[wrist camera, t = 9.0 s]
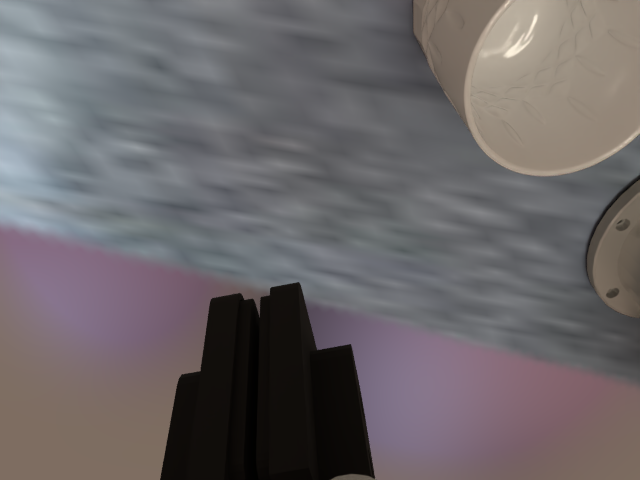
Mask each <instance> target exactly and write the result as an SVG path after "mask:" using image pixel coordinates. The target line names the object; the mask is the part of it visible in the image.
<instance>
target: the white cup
mask: <svg viewBox="0 0 640 480" xmlns="http://www.w3.org/2000/svg"><path fill="white" fill-rule="evenodd" d="M413 33H414V35H415V37H416V39H417V41H418V43H419V45H420V47H421V49H422V51H423V53H424V55H425V57H426V59H427V61H428V64H429V67H430V68H431V70H432V72H433V74H434V75H435V77H436V79H437V81H438V82H439V84H440V85H441V87H442V89H443V91H444V93H445V94H446V96H447V98H448V99H449V101H450V102H451V104H452V105H453V107H454V108H455V110H456V111H457V113H458V114H459V116H460V117H461V119H462V120H463V122H464V123H465V125H466V127H467V128H468V130H469V131H470V133H471V134H472V136H473V137H474V139H475V141H476V142H477V144H478V145H479V146H480V148H481V149H482V150H483V151H484V152H485V153H486V154H487V155H488V156H489V157H490V158H491V159H492V160H494V161H495V162H496V163H498V164H499V165H501V166H503V167H505V168H507V169H509V170H512V171H514V172H518V173H521V174H526V175H532V176H556V175H563V174H568V173H572V172H576V171H579V170H582V169H585V168H588V167H590V166H593V165H595V164H597V163H599V162H601V161H603V160H605V159H607V158H608V157H610V156H612V155H613V154H615V153H616V152H618V151H619V150H621V149H622V148H623V147H625V146H626V145H627V144H629V143H630V142H631V141H632V140H633V139H635V138H636V137H637V136H638V135H639V134H640V0H413Z"/></svg>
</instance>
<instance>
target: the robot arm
mask: <svg viewBox="0 0 640 480" xmlns="http://www.w3.org/2000/svg"><path fill="white" fill-rule="evenodd" d="M587 273H588V276H589V280H590V283H591V285H592V286H593V288H594V290H595V291H596V293H597V294H598V295H599V297H600V298H601V299H602V300H603V301H604V302H605V303H606V305H607V306H609V307H610V308H612V309H613V310H615V311H616V312H618V313H621V314H624V315H626V316H629V317H634V318H640V180H638V181H637V182H636V183H635V184H633V185H632V186H631V187H630V188H629V189H628V190H626V191H625V192H624V193H623V194H622V195H621V196H620V197H619V198H618V199H617V200H616V202H615V203H614V204H613V205H612V206H611V207H610V208H609V210H608V211H607V212H606V214H605V215H604V217H603V218H602V220H601V221H600V223H599V225H598V226H597V228H596V231H595V233H594V235H593V237H592V240H591V242H590V246H589V250H588V255H587ZM160 480H376V479H375V476H374V469H373V463H372V457H371V451H370V445H369V438H368V432H367V426H366V420H365V414H364V408H363V402H362V397H361V391H360V386H359V380H358V375H357V370H356V366H355V361H354V356H353V351H352V347H351V344H349V345H344V346H338V347H333V348H327V349H322V350H317V348H316V345H315V341H314V336H313V332H312V328H311V324H310V320H309V316H308V312H307V308H306V304H305V300H304V296H303V292H302V289H301V285H300V283H299V282H298V283H292V284H287V285H281V286H276V287H271V288H270V295H269V296H264V297H261V300H260V317H259V314H258V311H257V308H256V304H255V302H254V300H253V299H248V300H244V298H243V296H242V294H241V293H238V294H233V295H228V296H222V297H216V298H212V299H211V301H210V306H209V314H208V321H207V328H206V335H205V342H204V350H203V357H202V364H201V371H200V372H194V373H188V374H182V375H181V377H180V378H179V381H178V384H177V389H176V395H175V400H174V406H173V411H172V417H171V423H170V428H169V434H168V440H167V445H166V451H165V456H164V461H163V467H162V473H161V478H160Z"/></svg>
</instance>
